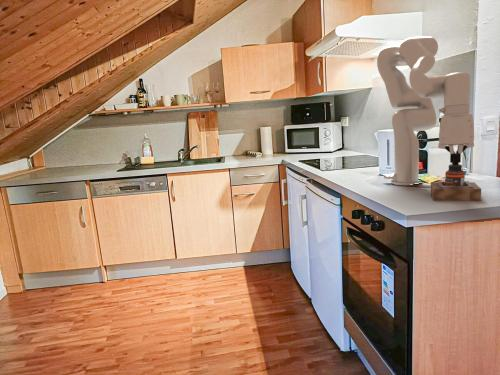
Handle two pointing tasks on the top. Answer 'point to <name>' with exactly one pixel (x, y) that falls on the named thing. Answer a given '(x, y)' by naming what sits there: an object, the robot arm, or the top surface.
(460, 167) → the supplement bottle
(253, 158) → the top surface
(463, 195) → the jig
